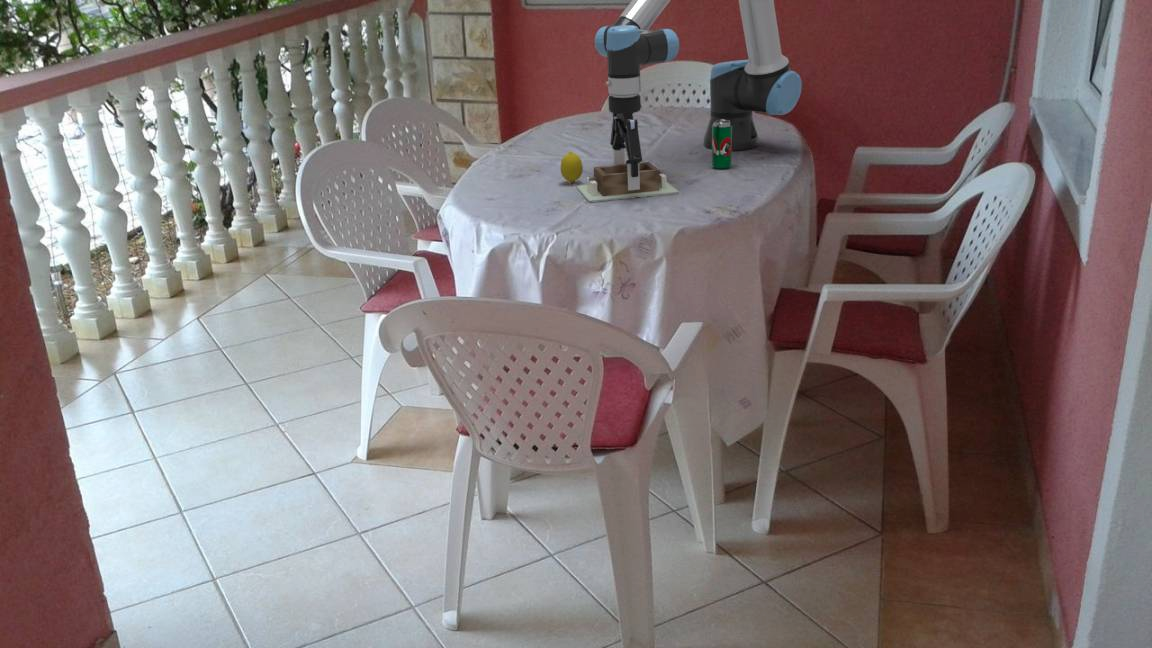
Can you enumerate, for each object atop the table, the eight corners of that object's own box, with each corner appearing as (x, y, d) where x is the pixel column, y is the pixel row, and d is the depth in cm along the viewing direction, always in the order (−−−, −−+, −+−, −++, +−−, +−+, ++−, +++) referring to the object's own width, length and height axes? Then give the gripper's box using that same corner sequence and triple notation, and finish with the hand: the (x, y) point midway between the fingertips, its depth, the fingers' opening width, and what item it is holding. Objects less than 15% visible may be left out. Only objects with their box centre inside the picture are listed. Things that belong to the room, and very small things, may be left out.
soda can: (733, 165, 269) (734, 119, 264) (728, 170, 265) (728, 123, 260) (715, 164, 271) (715, 118, 266) (709, 169, 267) (709, 122, 262)
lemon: (567, 187, 256) (566, 155, 253) (557, 182, 261) (556, 151, 258) (587, 183, 259) (585, 152, 255) (576, 179, 263) (575, 148, 260)
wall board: (661, 179, 259) (661, 162, 258) (678, 193, 246) (678, 176, 245) (576, 188, 255) (575, 171, 254) (589, 202, 243) (588, 185, 241)
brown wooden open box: (649, 181, 256) (648, 161, 254) (659, 190, 248) (659, 170, 246) (594, 187, 253) (593, 167, 252) (602, 196, 245) (602, 175, 243)
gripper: (596, 87, 252) (599, 172, 261) (622, 105, 230) (624, 197, 238) (626, 84, 254) (628, 169, 262) (654, 102, 231) (655, 194, 239)
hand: (626, 182), depth 250 cm, fingers open, 13 cm apart
